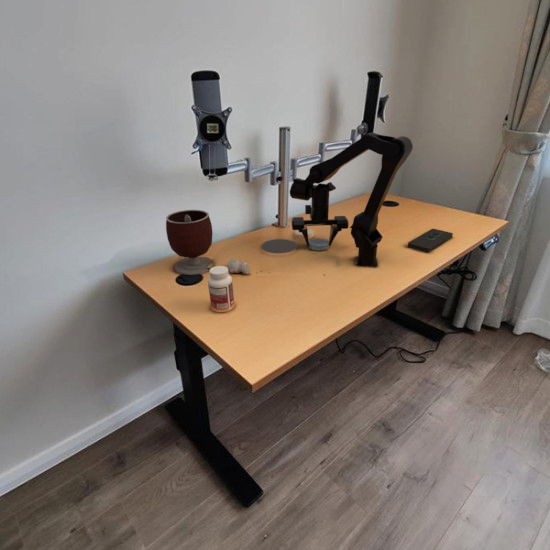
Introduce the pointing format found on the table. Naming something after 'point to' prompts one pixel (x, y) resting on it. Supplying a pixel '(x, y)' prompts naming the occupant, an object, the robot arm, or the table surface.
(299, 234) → the cream saucer
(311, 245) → the blue saucer
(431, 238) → the smart home device
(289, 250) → the charcoal plate
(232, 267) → the pale two-lobed sculpture
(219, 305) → the pill bottle
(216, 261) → the table surface
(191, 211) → the mate gourd
